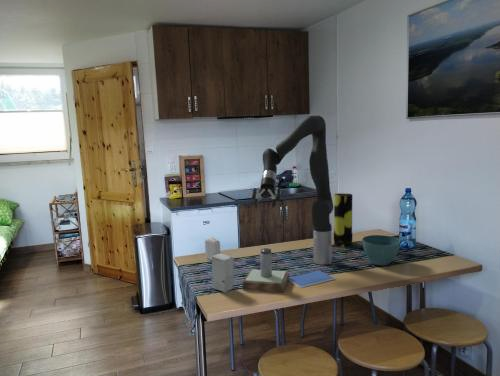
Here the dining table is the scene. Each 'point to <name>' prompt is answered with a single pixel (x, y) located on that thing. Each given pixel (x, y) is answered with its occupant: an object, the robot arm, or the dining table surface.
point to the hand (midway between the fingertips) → (264, 206)
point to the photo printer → (211, 247)
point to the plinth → (266, 281)
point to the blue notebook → (310, 279)
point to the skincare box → (222, 272)
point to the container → (343, 219)
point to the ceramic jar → (266, 262)
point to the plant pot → (380, 248)
